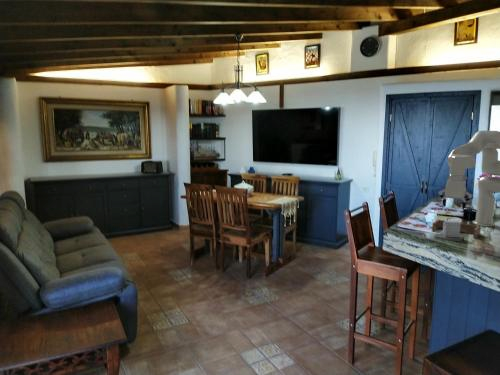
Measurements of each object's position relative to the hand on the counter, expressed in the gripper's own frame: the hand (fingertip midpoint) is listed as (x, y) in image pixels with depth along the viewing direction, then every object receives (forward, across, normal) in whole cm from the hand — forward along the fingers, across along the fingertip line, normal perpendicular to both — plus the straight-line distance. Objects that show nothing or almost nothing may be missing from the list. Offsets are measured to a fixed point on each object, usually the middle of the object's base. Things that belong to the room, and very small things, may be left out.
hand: (453, 207), depth 216 cm
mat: (+17, 0, +1) cm, 17 cm away
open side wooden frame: (+18, 0, -11) cm, 21 cm away
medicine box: (+17, 0, 0) cm, 17 cm away
